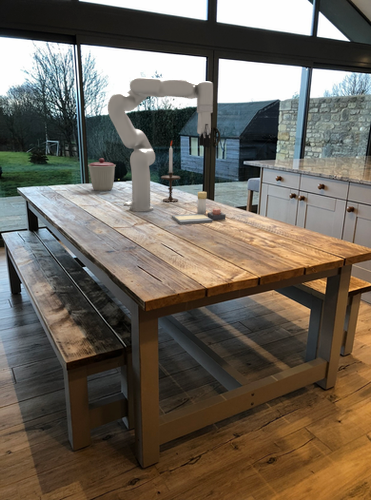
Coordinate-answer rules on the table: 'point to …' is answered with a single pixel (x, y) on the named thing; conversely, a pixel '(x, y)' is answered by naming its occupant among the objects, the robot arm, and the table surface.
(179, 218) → the board
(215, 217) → the button housing
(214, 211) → the button
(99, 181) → the canister
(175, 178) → the candlestick
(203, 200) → the marker
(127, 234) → the table surface
